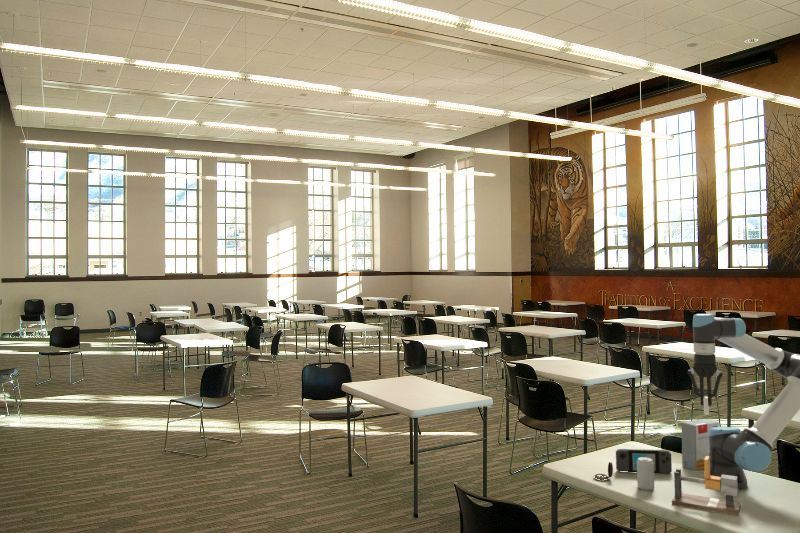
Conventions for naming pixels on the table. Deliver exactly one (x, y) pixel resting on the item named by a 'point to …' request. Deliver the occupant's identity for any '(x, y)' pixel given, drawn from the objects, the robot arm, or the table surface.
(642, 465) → the beverage can
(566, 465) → the table surface
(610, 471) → the compass
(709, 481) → the orange l-shaped block
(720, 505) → the cord board
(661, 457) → the handheld gaming console
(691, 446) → the hard drive box
